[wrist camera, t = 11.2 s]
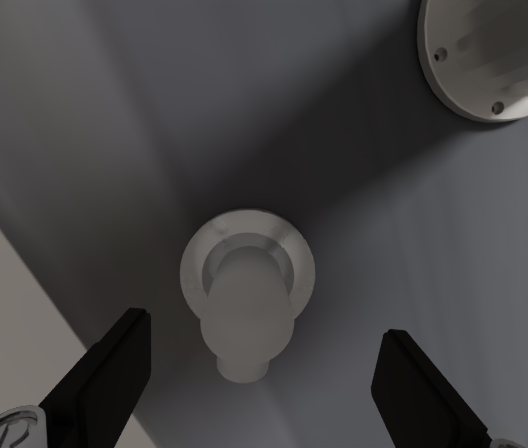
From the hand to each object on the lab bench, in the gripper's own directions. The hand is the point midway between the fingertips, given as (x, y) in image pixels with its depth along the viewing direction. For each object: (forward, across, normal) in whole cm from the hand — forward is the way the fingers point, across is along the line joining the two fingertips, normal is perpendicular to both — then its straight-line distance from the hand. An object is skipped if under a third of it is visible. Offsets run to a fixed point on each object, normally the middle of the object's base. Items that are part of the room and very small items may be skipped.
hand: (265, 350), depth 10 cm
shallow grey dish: (+10, +1, +1) cm, 11 cm away
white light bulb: (+9, +1, +1) cm, 9 cm away
